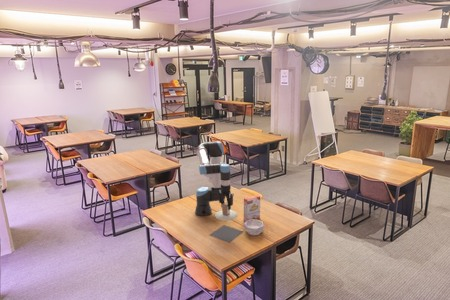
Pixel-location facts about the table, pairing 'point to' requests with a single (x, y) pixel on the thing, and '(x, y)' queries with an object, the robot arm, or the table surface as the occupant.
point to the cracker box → (252, 207)
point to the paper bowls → (254, 227)
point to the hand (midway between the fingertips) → (226, 212)
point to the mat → (226, 233)
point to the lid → (225, 213)
